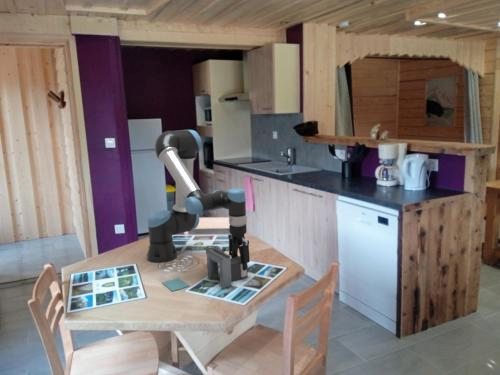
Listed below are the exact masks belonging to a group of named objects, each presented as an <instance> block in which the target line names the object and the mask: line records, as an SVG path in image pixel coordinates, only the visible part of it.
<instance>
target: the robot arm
mask: <svg viewBox="0 0 500 375" xmlns="http://www.w3.org/2000/svg"><path fill="white" fill-rule="evenodd" d="M202 146H203V144H202V138H201V136H200V134H199V133H198V132H197V131H196V130H193V129H180V130H179V129H177V130H167V131H164V132H162V133H161V134H159V136H158V137H157V138H156V140H155V143H154V150H155V154H156V158H157V159H158V161H159V162H160V163H163V164H164V165H165V167H166V169H167V170H168V172H169V174H170V175H171V177H172V178H173V180H174V182H175V204H174V205H173V206H172V211H170V210H168V209H166V210H158V211H155V212H153V213H151V214H150V215H149V216H148V217H147V227H148V239H149V241H148V242H149V246H148V250H147V254H146V257H147V258H146V259H147V261H149V262H151V263H152V262H153V263H165V262H166V263H167V262H169V261H172V260H175V259H177V257H178V250H177V248H176V246H175V243H174V239H173V238H174V237H173V236H174V235H178V234H183V233H187V232H191V231H194V230H196V229H197V228H198V226H199V223H200V214H201V213H202V214H203V213H205V212H211V211H215V210H220V209H225V210H228V224H229V226H228V227H229V234H228V235H227V238H228V255H229V256H230V259H231V258H234V257H238V256H240V258H241V263H240V268H241V277H245V276H247V271H248V268H247V264H248V263H250V262H251V261H250V247H249V246H250V241H249V240H247V239H246V236H245V234H246V233H247V230H248V229H247V208H246V207H247V206H246V205H247V203H246V200H247V199H246V191H245V189H243V188H230V189H229V190H227V191H225V190H220V189H216V190H214V191H212V192H211V193H206V194H204V192H203V191H202V190H201V189H200V187H199V185H198V184H197V182H196V181H195V178H194V161H195V160H196V158H197V153H199V152H201V150H202ZM238 252H239V255H238ZM245 278H246V277H245Z"/></svg>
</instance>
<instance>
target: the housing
mask: <svg viewBox="0 0 500 375" xmlns="http://www.w3.org/2000/svg"><path fill="white" fill-rule="evenodd" d="M209 250H210V251H209ZM209 250H206V251H207V254H206V267H207V268H206V269H207V279H208V280H211V281H212V280H215V279H218V278H219V282H220V285H219V286H220V287H221V288H223V289H226V288H230V287H232V285H233V284H232V282H233V281H232V282H231V256H230V255H229V254H227V253H225V252H224V253H223V252H221V251H219V250H218V249H216V248H213V250H211V249H209ZM206 251H205V252H206Z"/></svg>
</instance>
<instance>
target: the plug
mask: <svg viewBox="0 0 500 375" xmlns="http://www.w3.org/2000/svg"><path fill="white" fill-rule="evenodd" d="M230 259H231V282H235V281H238V280H242V279H245V278H248V274H249V272H248V270H247V276H245V277H241V268H240V263H241V258H240V255H238V257H234V258H231V257H230ZM248 267H249V265H248V263H247V269H248Z"/></svg>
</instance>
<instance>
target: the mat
mask: <svg viewBox="0 0 500 375" xmlns="http://www.w3.org/2000/svg"><path fill="white" fill-rule="evenodd" d="M161 284H163V285H164V286H165V287H166V288H167V289H168V290H169V291H171V292H177V291H180V290H183V289H186V288H190V286H191V285H189V284H188V283H186V282H185V281H184V280H183V279H181V278H180V277H177V278H173V279H169V280H165V281H161Z"/></svg>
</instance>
